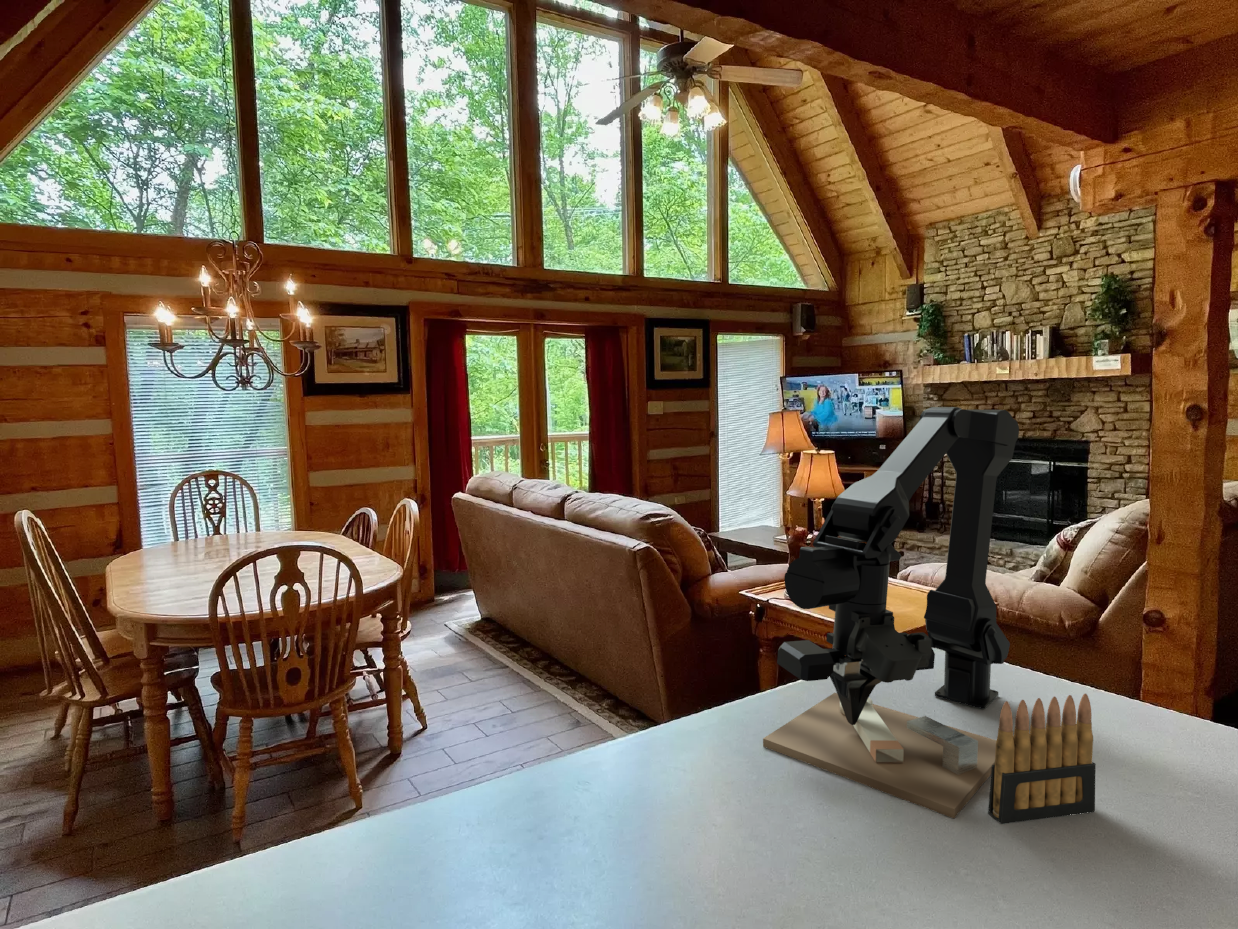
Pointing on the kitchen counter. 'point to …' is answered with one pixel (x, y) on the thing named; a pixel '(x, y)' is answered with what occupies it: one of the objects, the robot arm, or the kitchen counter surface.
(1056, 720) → the ammunition clip
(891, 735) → the bar
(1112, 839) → the kitchen counter surface
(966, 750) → the block
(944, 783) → the base plate
